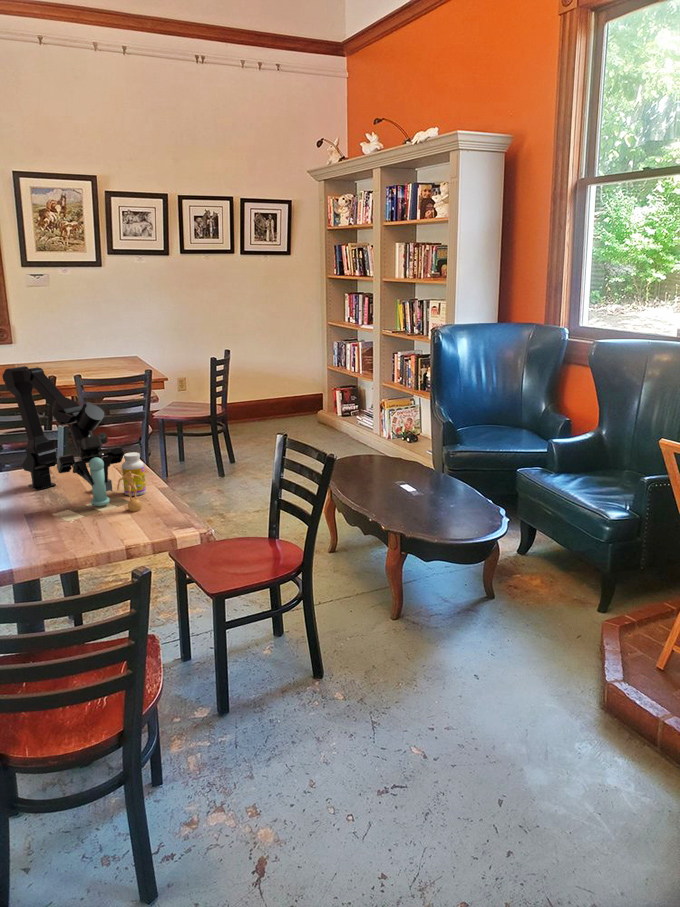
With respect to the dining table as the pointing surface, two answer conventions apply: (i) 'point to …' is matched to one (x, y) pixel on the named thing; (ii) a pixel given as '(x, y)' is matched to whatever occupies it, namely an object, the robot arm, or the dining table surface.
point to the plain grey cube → (108, 485)
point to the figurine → (133, 503)
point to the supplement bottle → (135, 468)
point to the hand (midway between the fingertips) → (99, 483)
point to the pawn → (98, 482)
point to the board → (90, 509)
